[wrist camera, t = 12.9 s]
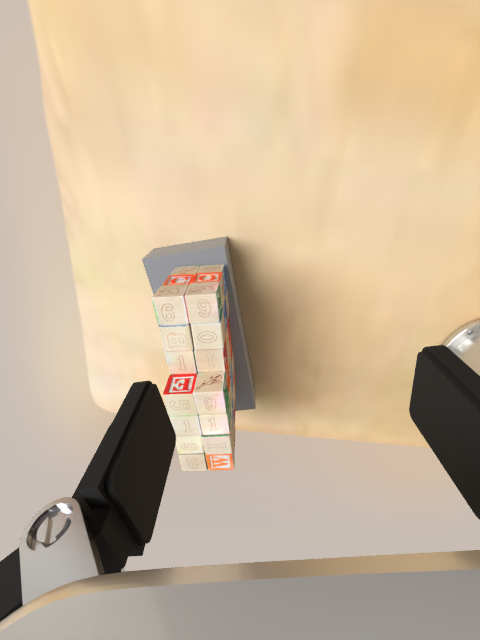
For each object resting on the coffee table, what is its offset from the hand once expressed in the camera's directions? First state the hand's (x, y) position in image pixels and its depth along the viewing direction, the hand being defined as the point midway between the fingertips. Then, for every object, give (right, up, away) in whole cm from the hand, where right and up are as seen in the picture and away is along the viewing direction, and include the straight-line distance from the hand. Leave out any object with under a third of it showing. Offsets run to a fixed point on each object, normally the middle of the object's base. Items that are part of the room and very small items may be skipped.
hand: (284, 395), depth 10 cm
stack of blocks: (-6, 0, +29) cm, 30 cm away
